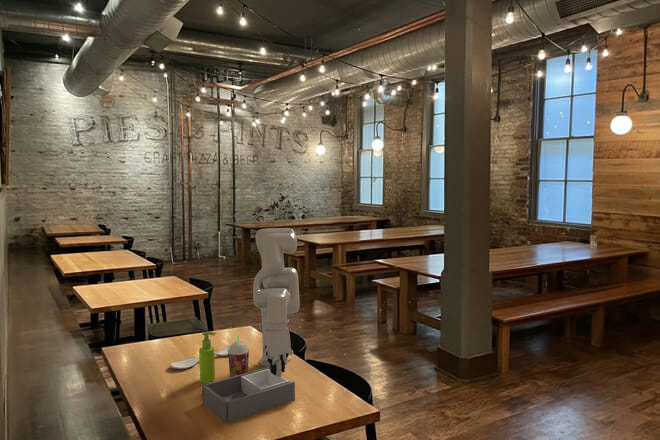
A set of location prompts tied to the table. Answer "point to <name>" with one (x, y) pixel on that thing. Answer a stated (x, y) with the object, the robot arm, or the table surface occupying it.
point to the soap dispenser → (207, 359)
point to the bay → (243, 398)
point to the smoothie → (238, 358)
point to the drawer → (262, 380)
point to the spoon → (193, 361)
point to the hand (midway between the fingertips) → (277, 372)
